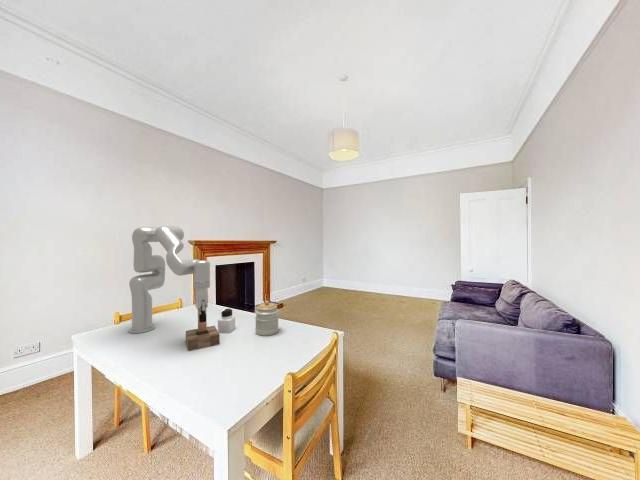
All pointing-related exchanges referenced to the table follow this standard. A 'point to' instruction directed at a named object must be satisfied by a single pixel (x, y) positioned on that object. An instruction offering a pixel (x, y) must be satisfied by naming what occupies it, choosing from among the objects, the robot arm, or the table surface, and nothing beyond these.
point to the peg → (203, 324)
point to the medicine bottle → (226, 321)
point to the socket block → (202, 338)
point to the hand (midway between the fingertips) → (202, 320)
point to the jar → (266, 319)
